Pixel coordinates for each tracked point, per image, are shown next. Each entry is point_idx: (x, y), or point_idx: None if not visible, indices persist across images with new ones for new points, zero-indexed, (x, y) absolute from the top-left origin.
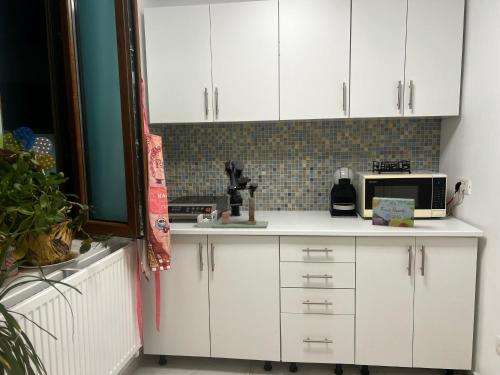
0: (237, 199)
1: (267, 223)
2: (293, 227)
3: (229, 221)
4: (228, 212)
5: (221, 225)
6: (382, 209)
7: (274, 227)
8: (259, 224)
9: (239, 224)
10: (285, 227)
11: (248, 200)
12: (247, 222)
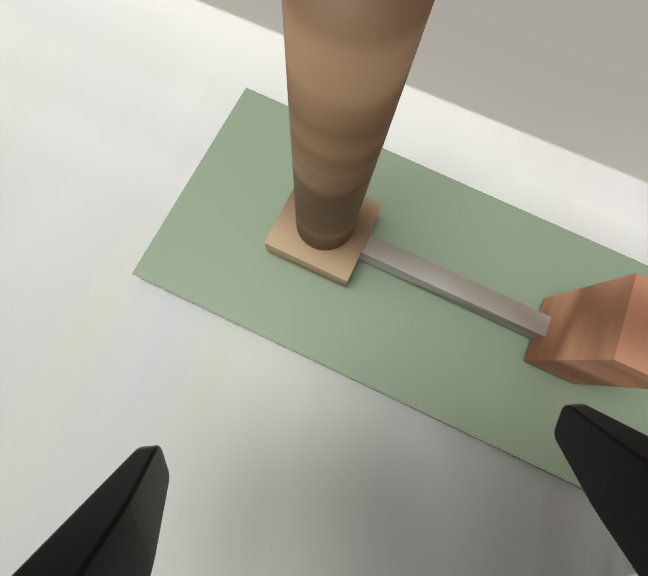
0: (633, 430)
1: (179, 199)
2: (39, 41)
3: (536, 312)
4: (617, 342)
5: (602, 274)
6: None
7: (176, 99)
8: (269, 176)
9: (438, 248)
10: (96, 65)
11: (419, 40)
12: (375, 206)
